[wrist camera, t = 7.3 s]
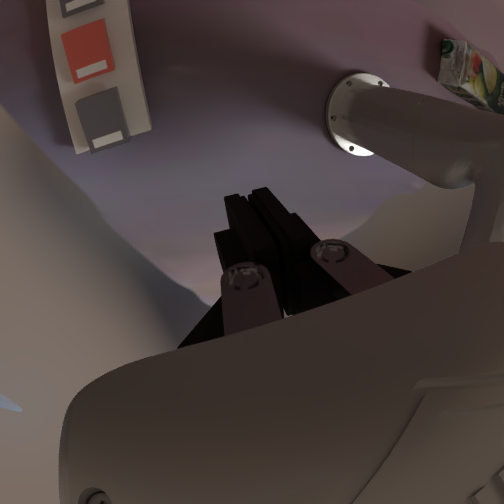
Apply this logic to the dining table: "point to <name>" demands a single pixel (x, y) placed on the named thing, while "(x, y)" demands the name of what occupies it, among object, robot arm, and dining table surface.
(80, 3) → the charcoal rocker
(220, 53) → the dining table surface
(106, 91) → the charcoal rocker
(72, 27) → the rocker switch panel
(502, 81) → the juice carton
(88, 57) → the red rocker
